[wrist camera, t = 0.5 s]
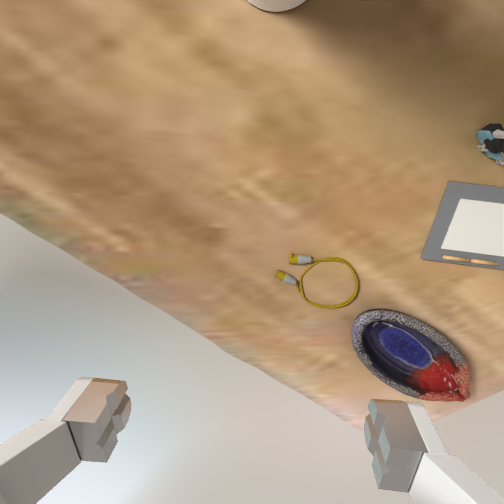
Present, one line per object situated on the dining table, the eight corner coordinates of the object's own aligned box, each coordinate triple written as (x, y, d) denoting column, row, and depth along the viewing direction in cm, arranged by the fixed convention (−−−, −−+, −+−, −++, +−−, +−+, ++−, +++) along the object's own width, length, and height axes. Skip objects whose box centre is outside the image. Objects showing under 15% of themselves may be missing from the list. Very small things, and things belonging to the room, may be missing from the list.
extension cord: (318, 229, 55) (319, 232, 53) (370, 285, 58) (372, 290, 57) (269, 268, 59) (269, 273, 57) (320, 318, 63) (322, 324, 61)
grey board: (448, 180, 49) (453, 182, 48) (548, 192, 49) (555, 194, 47) (420, 257, 55) (423, 260, 53) (509, 268, 54) (514, 272, 53)
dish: (385, 281, 58) (395, 295, 53) (483, 367, 64) (499, 386, 59) (327, 329, 63) (331, 345, 59) (422, 403, 69) (432, 423, 65)
